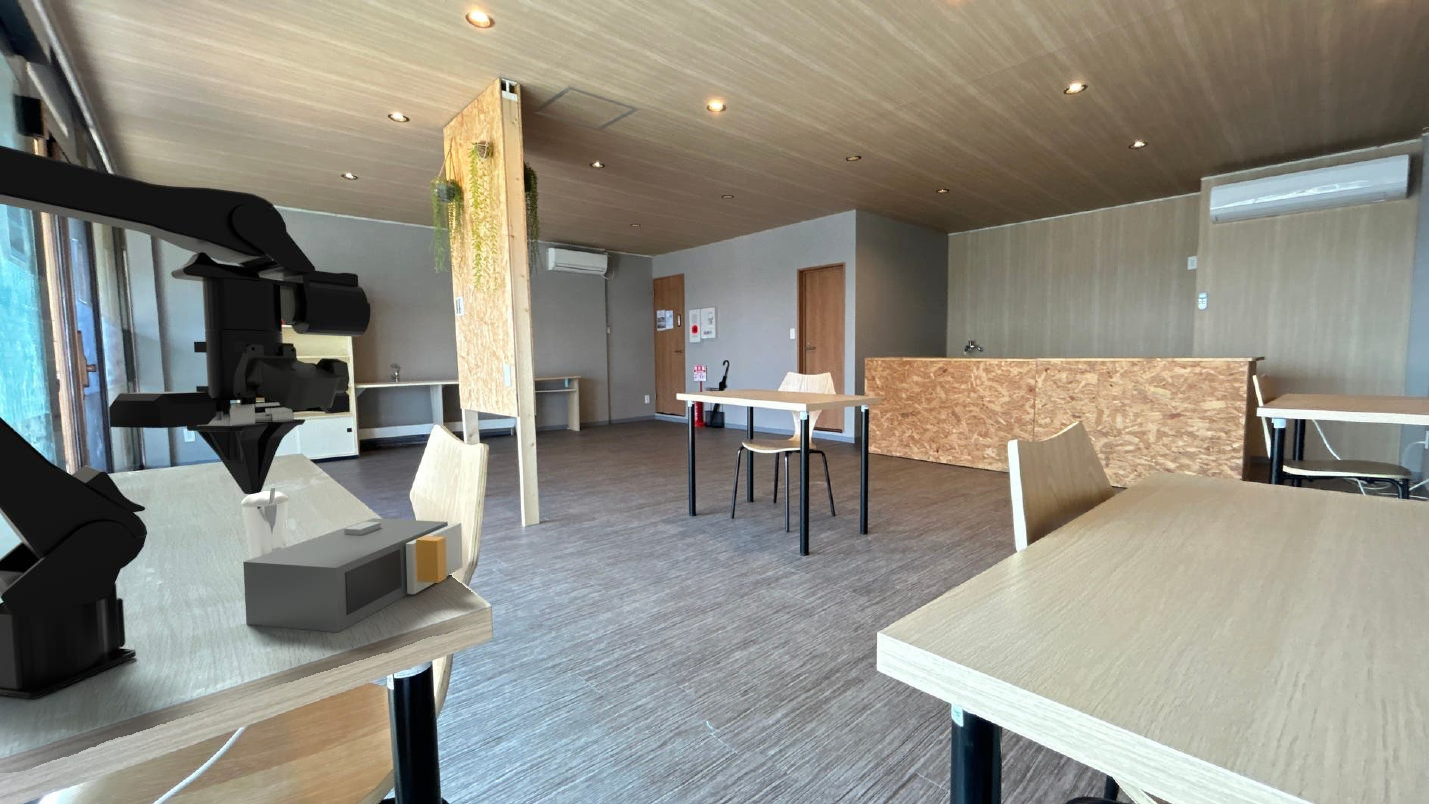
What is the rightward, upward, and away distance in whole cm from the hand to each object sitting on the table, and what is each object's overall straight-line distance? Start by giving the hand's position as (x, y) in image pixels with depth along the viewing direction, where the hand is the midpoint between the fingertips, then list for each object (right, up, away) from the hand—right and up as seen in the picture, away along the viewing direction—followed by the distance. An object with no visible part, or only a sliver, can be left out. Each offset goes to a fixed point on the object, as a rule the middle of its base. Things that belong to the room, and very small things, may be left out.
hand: (252, 493), depth 55 cm
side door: (+15, -11, +9) cm, 20 cm away
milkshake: (-10, -12, +14) cm, 21 cm away
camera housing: (+7, -12, +5) cm, 15 cm away
